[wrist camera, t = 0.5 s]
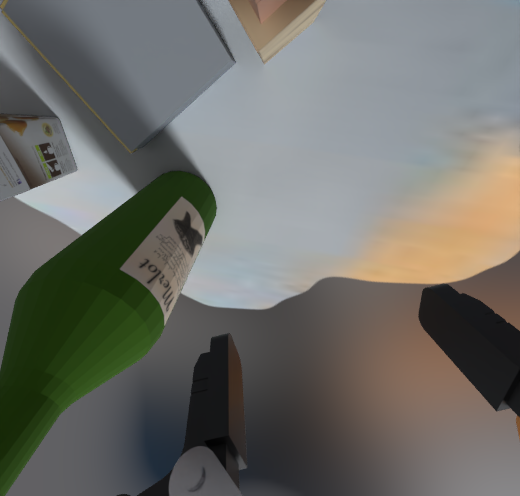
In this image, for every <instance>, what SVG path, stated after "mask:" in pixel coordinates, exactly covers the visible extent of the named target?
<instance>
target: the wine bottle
mask: <svg viewBox="0 0 520 496" xmlns="http://www.w3.org/2000/svg"><path fill="white" fill-rule="evenodd" d="M216 209H217V207H216V201H215V197H214V195H213V193H212V191H211V189H210V188H209V187H208V185H207V184H206V183H205V182H204V181H203V180H201V179H200V178H199V177H197V176H195V175H193V174H191V173H187V172H183V171H170V172H167V173H164V174H162V175H161V176H159V177H158V178H157V179H155V180H154V181H153V182H151V183H150V184H149V185H147V186H146V187H145V188H143V189H142V190H141V191H139V192H138V193H137V194H136V195H134V196H133V197H132V198H130V199H129V200H128V201H126V202H125V203H124V204H122V205H121V206H120V207H118V208H117V209H116V210H114V211H113V212H112V213H110V214H109V215H108V216H107V217H105V218H104V219H103V220H101V221H100V222H99V223H97V224H96V225H95V226H93V227H92V228H91V229H89V230H88V231H87V232H85V233H84V234H83V235H82V236H80V237H79V238H78V239H76V240H75V241H74V242H72V243H71V244H70V245H68V246H67V247H66V248H65V249H63V250H62V251H60V252H59V253H58V254H57V255H55V256H54V257H53V258H51V259H50V260H49V261H48V262H46V263H45V264H44V265H42V266H41V267H40V268H38V269H37V270H36V271H35V272H34V273H33V274H32V276H31V277H30V278H29V279H28V281H27V282H26V284H25V285H24V286H23V287H22V288H21V290H20V291H19V294H18V296H17V298H16V300H15V305H14V310H13V314H12V319H11V323H10V328H9V332H8V337H7V342H6V346H5V351H4V356H3V360H2V365H1V370H0V496H5V495H6V493H7V492H8V490H9V489H10V487H11V486H12V484H13V483H14V481H15V480H16V479H17V477H18V475H19V474H20V473H21V471H22V470H23V468H24V467H25V465H26V464H27V462H28V461H29V459H30V458H31V456H32V455H33V453H34V452H35V451H36V449H37V448H38V446H39V445H40V443H41V442H42V440H43V439H44V437H45V436H46V434H47V433H48V431H49V430H50V428H51V427H52V425H53V424H54V422H55V421H56V419H57V418H58V417H59V415H60V414H61V413H62V412H63V411H64V410H65V409H67V408H68V407H69V406H70V405H71V404H72V403H74V402H75V401H76V400H78V399H80V398H81V397H83V396H84V395H86V394H87V393H89V392H91V391H92V390H93V389H95V388H97V387H98V386H100V385H101V384H103V383H105V382H106V381H108V380H109V379H111V378H112V377H114V376H115V375H117V374H119V373H120V372H122V371H123V370H125V369H126V368H128V367H129V366H131V365H133V364H134V363H136V362H137V361H139V360H140V359H141V358H142V357H143V356H145V355H146V354H147V353H148V351H149V350H150V349H151V347H152V346H153V345H154V344H155V343H156V341H157V340H158V339H159V337H160V336H161V334H162V331H163V329H164V327H165V325H166V323H167V321H168V319H169V316H170V314H171V312H172V310H173V308H174V306H175V303H176V301H177V299H178V297H179V294H180V292H181V290H182V288H183V286H184V284H185V282H186V279H187V277H188V275H189V273H190V271H191V269H192V266H193V264H194V262H195V260H196V258H197V256H198V253H199V251H200V249H201V247H202V245H203V242H204V240H205V238H206V236H207V234H208V232H209V229H210V227H211V225H212V223H213V221H214V218H215V216H216Z"/></svg>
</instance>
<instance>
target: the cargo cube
mask: <svg viewBox="0 0 520 496" xmlns="http://www.w3.org/2000/svg"><path fill="white" fill-rule="evenodd" d="M248 1H249V2H250V4H251V6H252V8H253V10H254V12H255V14H256V16H257V18H258V20H259V21H260V23H261V24H262V23H263V22H264V21H265V20H266V19H267V18H268V17H269V16H271V15H272V14H273V13H274V12H275V11H276V10H277V9H278V8H279V7H280V6H281V5H282V4H283V3H284V2H286V1H287V0H248Z"/></svg>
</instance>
